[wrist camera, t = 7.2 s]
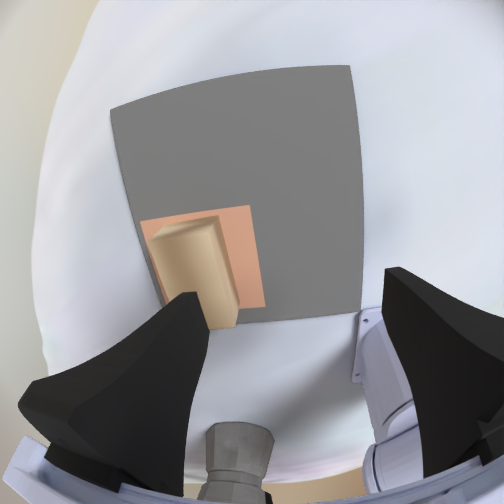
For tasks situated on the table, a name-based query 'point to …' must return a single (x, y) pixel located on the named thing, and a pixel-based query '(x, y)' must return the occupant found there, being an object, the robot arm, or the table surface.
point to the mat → (257, 182)
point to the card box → (198, 267)
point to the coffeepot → (236, 463)
